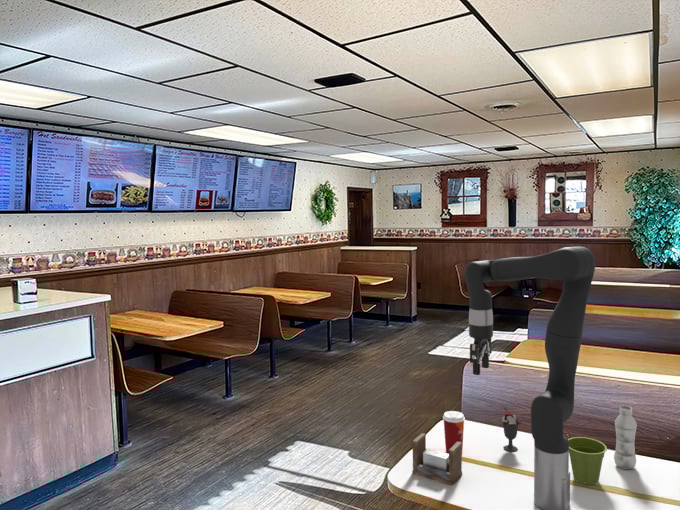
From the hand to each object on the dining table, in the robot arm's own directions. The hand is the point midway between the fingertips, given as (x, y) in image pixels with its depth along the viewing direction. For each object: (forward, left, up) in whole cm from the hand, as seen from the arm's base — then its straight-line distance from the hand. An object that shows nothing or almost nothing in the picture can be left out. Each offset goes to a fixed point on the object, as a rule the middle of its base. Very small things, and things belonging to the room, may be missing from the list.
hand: (481, 371), depth 170 cm
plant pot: (-30, -10, -33) cm, 46 cm away
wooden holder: (+11, +11, -33) cm, 37 cm away
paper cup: (+12, -6, -33) cm, 36 cm away
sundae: (-4, -19, -33) cm, 39 cm away
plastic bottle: (-39, -25, -33) cm, 57 cm away
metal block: (+11, +11, -32) cm, 36 cm away
